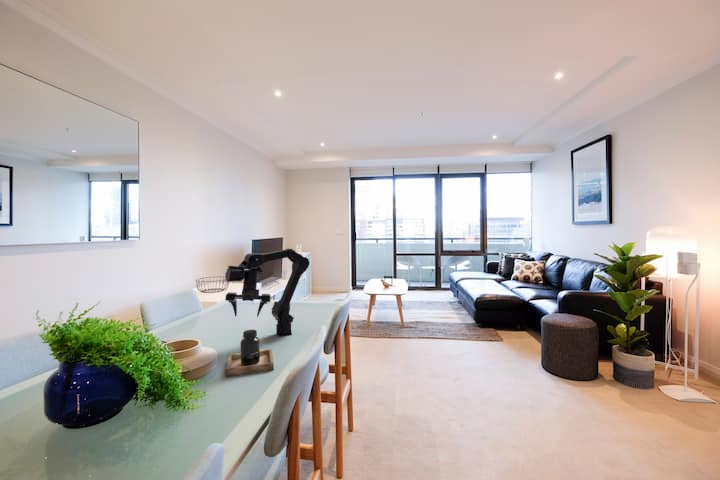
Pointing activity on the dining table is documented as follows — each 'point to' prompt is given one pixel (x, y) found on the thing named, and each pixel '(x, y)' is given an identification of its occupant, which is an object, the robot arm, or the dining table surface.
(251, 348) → the supplement bottle
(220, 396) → the dining table surface
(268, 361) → the oak tray
